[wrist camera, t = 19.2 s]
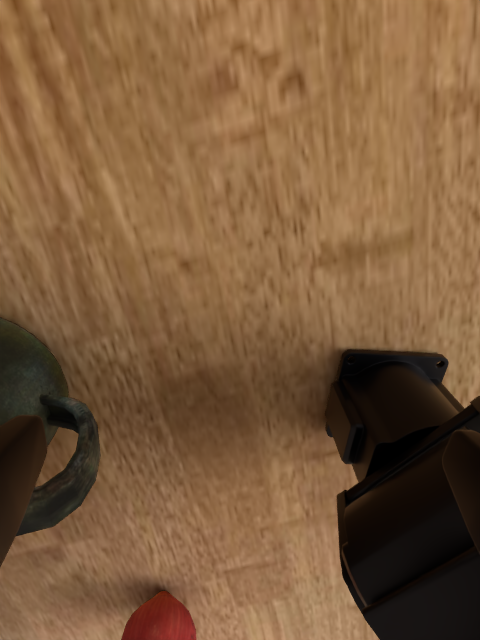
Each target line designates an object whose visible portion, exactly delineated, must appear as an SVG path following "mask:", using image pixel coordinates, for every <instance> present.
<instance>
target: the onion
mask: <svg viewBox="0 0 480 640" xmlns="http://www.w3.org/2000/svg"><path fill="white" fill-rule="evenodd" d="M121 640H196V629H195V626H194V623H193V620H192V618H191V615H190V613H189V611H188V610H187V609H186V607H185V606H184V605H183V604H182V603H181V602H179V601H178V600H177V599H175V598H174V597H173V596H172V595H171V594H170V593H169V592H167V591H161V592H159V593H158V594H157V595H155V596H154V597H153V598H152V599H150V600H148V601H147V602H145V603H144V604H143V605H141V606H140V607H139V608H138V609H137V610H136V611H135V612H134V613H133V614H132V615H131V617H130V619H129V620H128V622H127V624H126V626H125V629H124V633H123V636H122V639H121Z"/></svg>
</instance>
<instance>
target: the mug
mask: <svg viewBox="0 0 480 640" xmlns="http://www.w3.org/2000/svg"><path fill="white" fill-rule="evenodd" d="M18 415H38V416H40V417H41V418H42V421H43V425H44V430H45V436H46V441H47V447H48V445H49V443H50V441H51V440H52V438H53V436H54V435H55V433H56V431H57V429H58V428H59V427H62V428H67V429H71V430H74V431H75V432H77V433H78V434H79V437H78V443H77V448H76V452H75V453H74V455H73V456H72V458H71V460H70V461H69V463H68V464H67V466H66V468H65V469H64V470H63V471H62V472H60V473H59V474H57V475H56V476H55V477H53V478H52V479H50V480H49V481H48V482H46V483H45V484H43V485H42V486H38V487H34V490H33V493H32V495H31V498H30V501H29V503H28V506H27V509H26V512H25V514H24V517H23V519H22V522H21V524H20V527H19V529H18V532H17V534H16V536H19V535H23V534H27V533H31V532H34V531H38V530H42V529H46V528H50V527H54V526H55V525H56V524H58V523H59V522H60V521H61V520H63V519H64V518H65V517H67V516H68V515H69V514H70V513H72V512H73V511H74V510H76V509H77V508H78V507H79V506H81V504H82V502H83V501H84V499H85V497H86V496H87V494H88V492H89V491H90V489H91V487H92V486H93V484H94V482H95V481H96V476H97V471H98V466H99V461H100V456H101V455H100V444H99V435H98V425H97V423H96V421H95V419H94V417H93V414H92V413H91V411H90V410H89V408H88V407H87V405H86V404H85V403H83V402H80V401H78V400H76V399H74V398H69V397H68V388H67V383H66V380H65V377H64V375H63V372H62V370H61V367H60V365H59V364H58V362H57V360H56V359H55V357H54V356H53V354H52V353H51V352H50V351H49V350H48V348H47V347H46V346H45V345H44V344H43V343H42V342H40V341H39V340H38V339H37V338H36V337H35V336H33V335H32V334H30V333H29V332H28V331H26V330H25V329H23V328H21V327H19V326H18V325H16V324H14V323H12V322H10V321H7V320H5V319H2V318H0V426H1V425H3V424H4V423H6V422H8V421H9V420H11V419H13V418H14V417H16V416H18Z"/></svg>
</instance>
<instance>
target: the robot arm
mask: <svg viewBox="0 0 480 640" xmlns="http://www.w3.org/2000/svg"><path fill="white" fill-rule="evenodd" d="M352 356H353V359H352V360H348V358H349V357H352ZM439 361H441V362H440V363H439V364H437V362H439ZM447 367H448V360H447V359H446V358H445V357H444V356H443V355H442V354H430V353H411V352H391V351H371V350H347V351H345V352H344V353H343V354H342V356H341V361H340V365H339V369H338V374H337V378H336V380H335V381H334V382H333V383H332V384H331V388H330V393H329V397H328V402H327V406H326V411H325V416H326V419H327V422H326V427H325V430H326V432H327V435H328V436H330V437H333V438H334V441H335V443H336V446H337V449H338V451H339V454H340V457H341V460H342V461H343V462H344V463H345V464H352V467H353V469H354V472H355V474H356V477H357V479H358V482H359V483H358V484H356V485H355V486H353V487H352V488H350V489H349V490H344V491H342V492H341V493H340V494H338V495H337V511H338V531H339V550H340V561H341V567H342V575H343V579H344V581H345V583H346V584H347V586H348V588H349V591H350V593H351V595H352V597H353V599H354V601H355V603H356V604H357V606H358V608H359V609H360V611H361V612H362V614H363V616H364V618H365V620H366V621H367V623H368V624H369V625H370V627H371V628H372V629H373V631H374V632H375V634H376V635H377V636H378V638H379V639H380V640H480V396H478V397H477V398H475V399H474V400H472V401H471V402H470V403H471V405H469V406H468V407H466V408H465V409H464V407H463V406H462V405H461V404H460V403H459V402H458V401H457V400H456V399H455V398H454V396H453V395H452V394H451V393H450V392H449V391H448V390H447V389H446V388H445V387H444V385H443V384H442V380H443V377H444V375H445V372H446V369H447ZM46 454H47V441H46V436H45V430H44V425H43V421H42V418H41V417H40V416H38V415H18V416H16V417H14V418H13V419H11V420H9V421H8V422H6V423H4V424H3V425H1V426H0V567H1V565H2V563H3V561H4V559H5V557H6V555H7V553H8V551H9V548H10V546H11V544H12V542H13V540H14V538H15V536H16V534H17V532H18V529H19V527H20V524H21V522H22V519H23V517H24V514H25V512H26V509H27V506H28V503H29V501H30V498H31V495H32V493H33V490H34V487H35V484H36V482H37V479H38V476H39V474H40V471H41V468H42V466H43V463H44V460H45V457H46Z"/></svg>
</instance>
